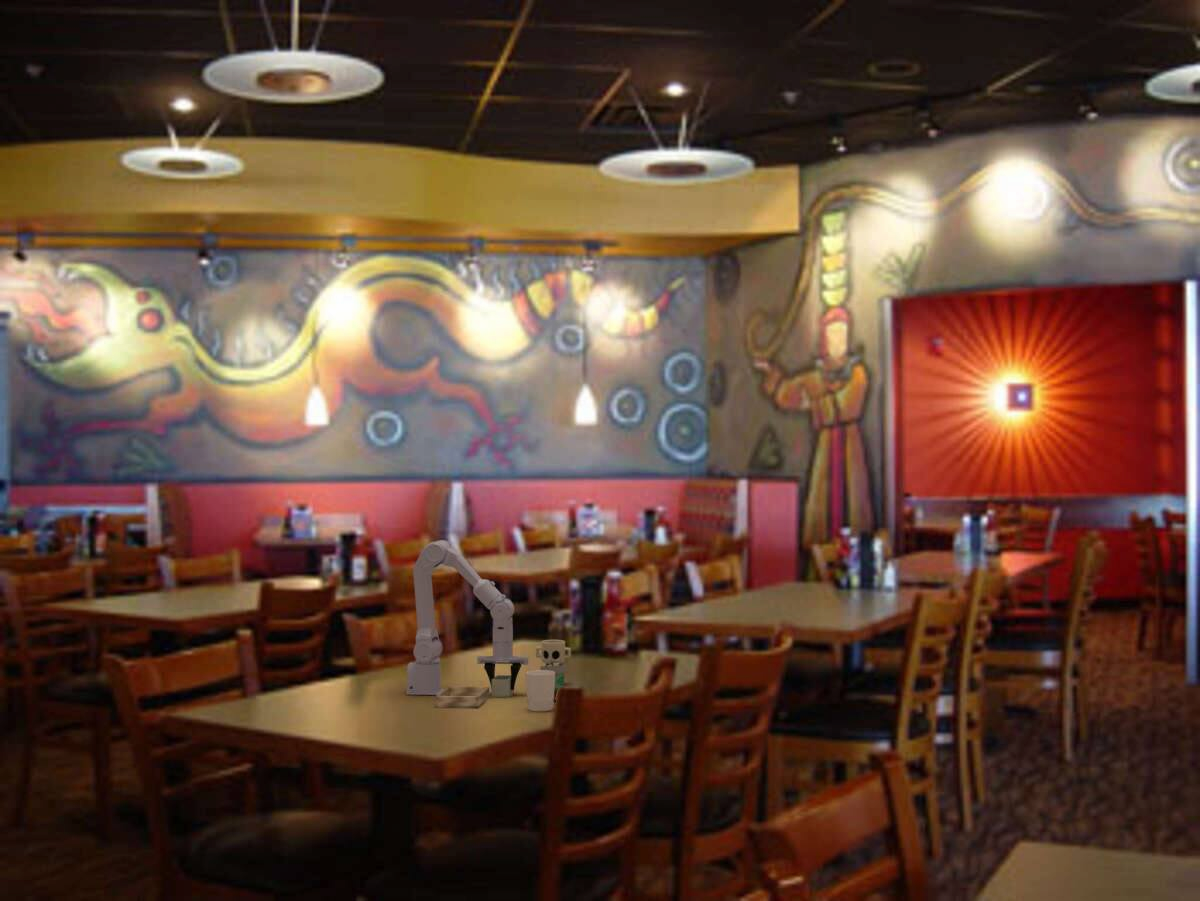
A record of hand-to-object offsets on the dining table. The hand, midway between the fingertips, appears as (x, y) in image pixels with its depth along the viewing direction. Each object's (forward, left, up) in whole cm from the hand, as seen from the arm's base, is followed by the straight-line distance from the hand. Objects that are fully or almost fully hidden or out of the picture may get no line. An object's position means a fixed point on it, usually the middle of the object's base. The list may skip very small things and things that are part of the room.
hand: (502, 689), depth 400 cm
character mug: (+12, +19, -2) cm, 23 cm away
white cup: (+14, -21, -2) cm, 25 cm away
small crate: (0, 0, -2) cm, 2 cm away
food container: (+16, -5, -2) cm, 17 cm away
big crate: (-9, -13, -2) cm, 16 cm away
